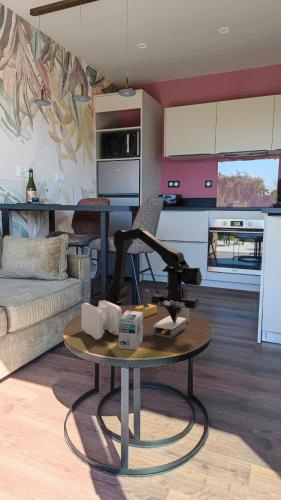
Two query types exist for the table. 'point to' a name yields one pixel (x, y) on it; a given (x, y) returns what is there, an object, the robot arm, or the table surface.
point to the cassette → (183, 313)
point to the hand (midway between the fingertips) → (174, 322)
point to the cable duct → (169, 331)
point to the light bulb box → (130, 330)
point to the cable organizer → (100, 318)
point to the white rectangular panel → (169, 323)
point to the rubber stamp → (146, 305)
